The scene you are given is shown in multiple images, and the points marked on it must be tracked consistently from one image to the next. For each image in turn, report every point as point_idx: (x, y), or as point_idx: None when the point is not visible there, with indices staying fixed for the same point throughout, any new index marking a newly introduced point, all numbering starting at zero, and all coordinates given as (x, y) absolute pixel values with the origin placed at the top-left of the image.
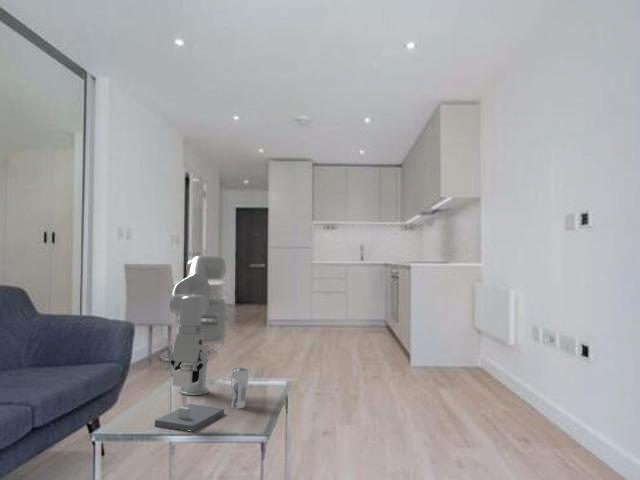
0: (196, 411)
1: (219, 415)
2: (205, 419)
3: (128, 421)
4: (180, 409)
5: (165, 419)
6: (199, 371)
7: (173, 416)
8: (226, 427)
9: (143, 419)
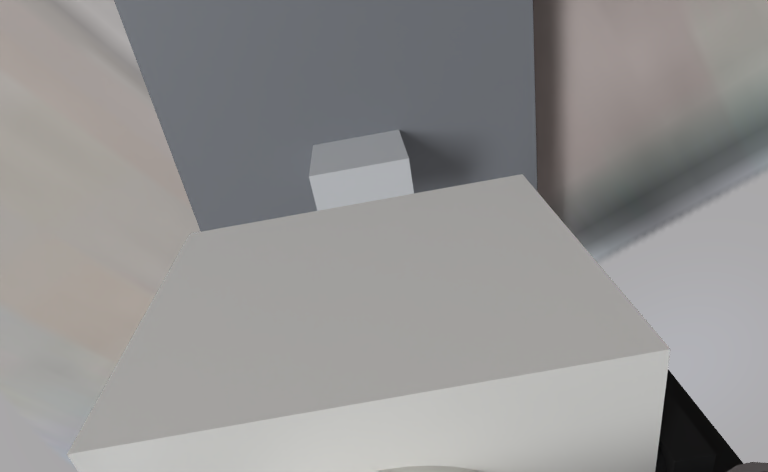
0: None
1: None
2: (532, 69)
3: (15, 312)
4: (338, 206)
5: None
6: (631, 316)
7: (262, 175)
8: (706, 12)
9: (41, 233)
